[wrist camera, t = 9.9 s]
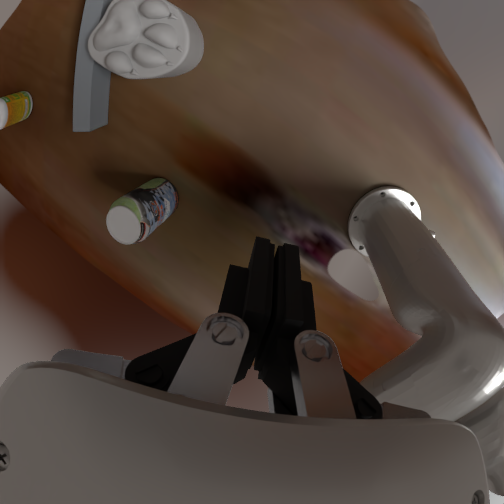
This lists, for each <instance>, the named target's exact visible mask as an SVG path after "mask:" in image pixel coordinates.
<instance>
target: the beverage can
mask: <svg viewBox="0 0 504 504" xmlns="http://www.w3.org/2000/svg"><path fill="white" fill-rule="evenodd" d="M178 203H179V196H178V192H177V190H176V188H175V187H174V185H173V184H172V183H171V182H169V181H168V180H166V179H163V178H155V179H152V180H150V181H148V182H147V183H145V184H143V185H141V186H139V187H138V188H136V189H134V190H132V191H131V192H129V193H127V194H126V195H124V196H122V197H121V198H119V199H117V200H116V201H115V202H114V203H113V204H112V205H111V207H110V210H109V212H108V214H107V219H106V223H107V228H108V230H109V232H110V234H111V236H112V237H113V238H114V239H115V240H117V241H118V242H120V243H122V244H136V243H139V242H141V241H143V240H144V239H145V238H146V237H147V236H149V235H150V234H151V233H152V232H153V231H154V230H155V229H156V228H157V227H158V226H159V225H160V224H161V223H163V222H164V221H165V220H166V219H167V218H168V217H169V216H170V215H171V214H172V213H174V211H175V210H176V209H177V206H178Z"/></svg>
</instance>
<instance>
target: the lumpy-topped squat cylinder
mask: <svg viewBox="0 0 504 504" xmlns="http://www.w3.org/2000/svg"><path fill="white" fill-rule="evenodd" d="M88 50H89V53H90V55H91V57H92V58H93V59H94V60H95V61H96V62H97V63H99V64H100V65H102V66H103V67H104V68H106V69H108V70H109V71H111V72H113V73H115V74H117V75H120V76H122V77H125V78H128V79H151V78H164V77H174V76H178V75H181V74H184V73H186V72H189V71H190V70H192V69H193V68H195V67H196V66H197V65H198V63H199V62H200V60H201V58H202V56H203V51H204V41H203V36H202V33H201V31H200V29H199V27H198V25H197V23H196V21H195V20H194V19H193V18H192V17H191V16H190V15H188V14H187V13H185V12H184V11H182V10H181V9H179V8H178V7H176V6H175V5H173V4H172V3H170V2H168V1H166V0H113V1H112V2H111V3H110V5H109V6H108V8H107V10H106V12H105V14H104V16H103V18H102V20H101V21H100V23H99V24H98V25H97V26H96V28H95V29H94V30H93V32H92V33H91V35H90V37H89V39H88Z"/></svg>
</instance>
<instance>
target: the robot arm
mask: <svg viewBox="0 0 504 504" xmlns="http://www.w3.org/2000/svg"><path fill="white" fill-rule="evenodd" d="M381 192H382V193H381ZM355 216H356V217H355ZM348 234H349V237H350V240H351V242H352V244H353V246H354V247H355V249H356V250H357V251H358V252H360V253H361V254H363V255H364V256H367V257H369V258H370V261H371V263H372V265H373V267H374V270H375V272H376V274H377V277H378V279H379V282H380V284H381V286H382V289H383V291H384V294H385V296H386V299H387V301H388V304H389V306H390V309H391V312H392V314H393V316H394V318H395V319H396V321H397V322H398V323H399V324H400V325H401V326H402V327H403V328H405V329H407V330H408V331H410V332H413V333H415V334H418V335H421V336H422V337H421V338H420V339H419V340H418V341H417V342H416V343H414V344H413V345H412V346H410V348H409V349H407V350H406V351H404V352H403V353H401V354H400V355H399V356H397V357H396V358H394V359H393V360H391V361H390V362H388V363H387V364H385V365H383V366H382V367H380V368H379V369H377V370H376V371H374V372H373V373H371V374H370V375H369V376H367V377H366V378H365V379H363V380H362V381H361V382H360V383H359V382H357V381H356V380H355V379H354V378H353V377H352V376H351V375H350V374H349V373H348V372H346V371H345V370H344V369H343V368H342V365H341V361H340V358H339V354H338V351H337V348H336V346H335V344H334V342H333V341H332V340H331V338H330V337H328V336H327V335H326V334H324V333H322V332H319V331H316V320H315V310H314V301H313V291H312V284H311V283H310V282H307V281H302V280H301V270H300V257H299V247H298V246H295V245H291V244H287V243H284V245H283V246H278V248H277V251H276V254H275V257H274V249H275V244H271V243H270V239H265V238H261V237H257V236H256V239H255V243H254V247H253V251H252V254H251V258H250V262H249V266H248V268H244V267H239V266H235V265H230V266H229V270H228V274H227V278H226V282H225V286H224V290H223V294H222V298H221V302H220V306H219V310H218V313H215V314H211V315H210V316H208V317H207V318H206V319H205V320H204V321H203V322H202V324H201V326H200V328H199V330H198V332H197V333H196V334H194V335H191V336H189V337H186V338H184V339H182V340H179V341H177V342H174V343H172V344H169V345H167V346H165V347H162V348H160V349H157V350H155V351H152V352H150V353H147V354H144V355H142V356H139V357H137V358H135V359H134V360H132V361H130V360H123V357H120V356H113V355H105V354H98V353H91V352H85V351H79V350H73V349H64V350H61V351H59V352H57V353H56V354H55V355H54V356H53V358H52V360H51V361H37V362H30V363H26V364H23V365H21V366H19V367H18V368H16V369H15V370H14V371H13V372H12V373H11V374H10V375H9V376H8V377H7V379H6V380H5V381H4V383H3V384H2V386H1V387H0V504H490V500H489V490H490V491H491V492H493V493H495V494H497V495H501V496H504V387H503V388H501V387H502V386H503V385H504V328H503V326H502V325H501V323H500V322H499V321H498V320H497V319H496V317H495V316H494V315H493V314H492V313H491V312H490V310H489V309H488V308H487V307H486V306H485V305H484V303H483V302H482V301H481V300H480V298H479V297H478V296H477V295H476V294H475V292H474V291H473V290H472V288H471V287H470V286H469V284H468V283H467V281H466V280H465V279H464V277H463V276H462V275H461V273H460V272H459V270H458V269H457V267H456V266H455V265H454V263H453V262H452V260H451V259H450V258H449V256H448V255H447V254H446V252H445V251H444V249H443V248H442V247H441V245H440V244H439V243H438V242H437V240H436V239H435V232H434V231H431V230H428V229H427V228H426V226H425V225H424V224H423V223H422V221H421V211H420V207H419V205H418V203H417V201H416V200H415V199H414V197H413V196H412V195H411V194H410V193H408V192H407V191H405V190H404V189H401V188H398V187H393V186H386V187H380V188H377V189H374V190H372V191H370V192H368V193H367V194H365V195H364V196H363V197H362V198H361V199H360V200H359V201H358V202H357V203H356V204H355V206H354V208H353V209H352V211H351V214H350V216H349V220H348ZM254 358H255V363H254V370H258V371H259V374H258V379H262V380H263V382H264V383H265V384H266V385H267V386H268V387H269V388H268V402H269V413H267V412H259V411H254V410H247V409H241V408H235V407H230V406H225V405H226V402H227V399H228V396H229V394H230V391H231V388H232V385H233V384H235V383H237V382H238V381H240V380H242V379H244V378H245V376H246V373H247V370H248V369H250V367H251V365H252V363H253V360H254Z"/></svg>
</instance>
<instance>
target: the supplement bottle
mask: <svg viewBox="0 0 504 504" xmlns="http://www.w3.org/2000/svg"><path fill="white" fill-rule="evenodd" d="M31 111H32V98H31V95H30V94H29V93H28V92H26V91H22V92H18V93H14V94H11V95H7V96H4V97H1V98H0V129H3V128H5V127H7V126H10V125H12V124H15V123H17V122H20V121H22V120H24V119H26V118H27V117H28V116H29V115H30V113H31Z"/></svg>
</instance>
